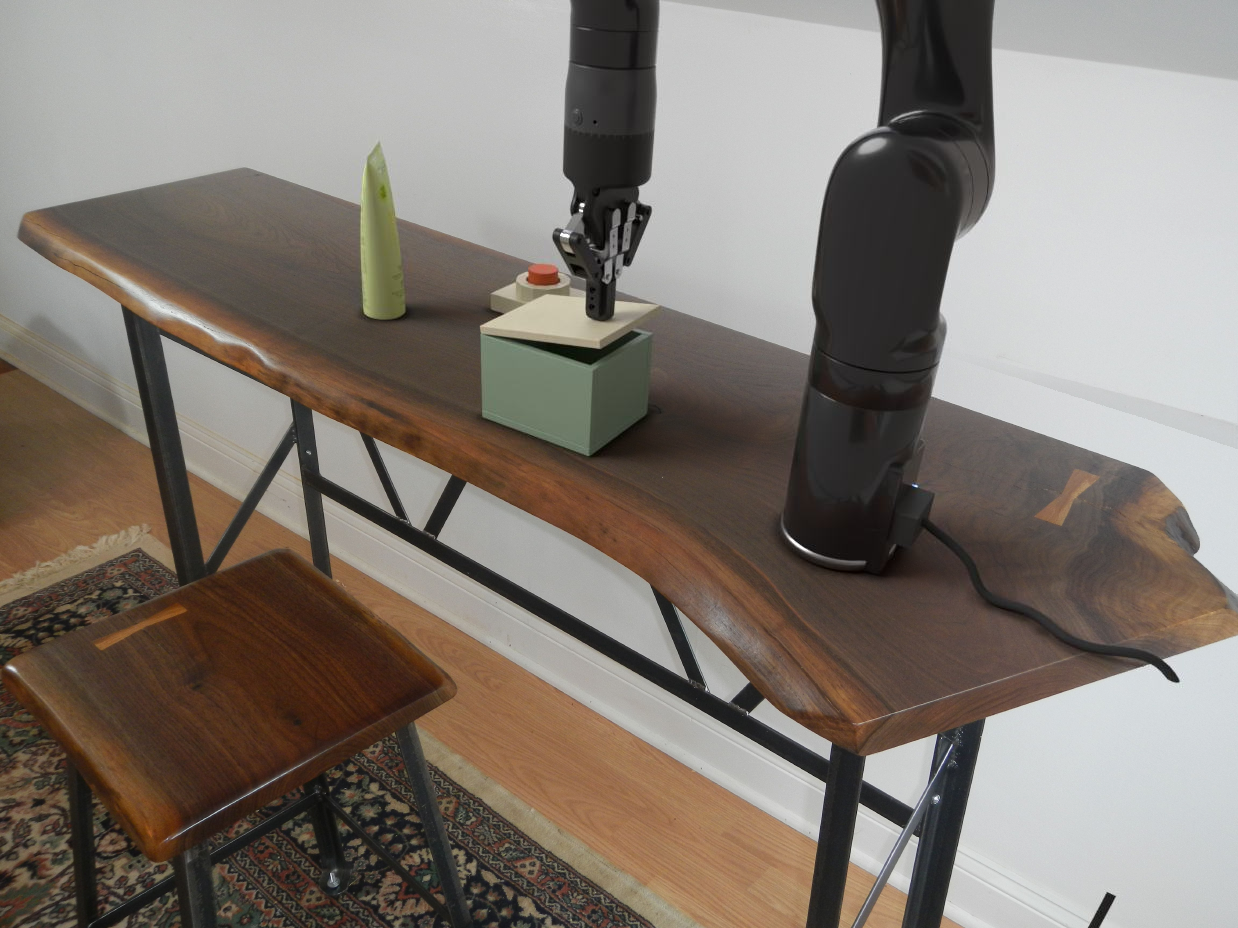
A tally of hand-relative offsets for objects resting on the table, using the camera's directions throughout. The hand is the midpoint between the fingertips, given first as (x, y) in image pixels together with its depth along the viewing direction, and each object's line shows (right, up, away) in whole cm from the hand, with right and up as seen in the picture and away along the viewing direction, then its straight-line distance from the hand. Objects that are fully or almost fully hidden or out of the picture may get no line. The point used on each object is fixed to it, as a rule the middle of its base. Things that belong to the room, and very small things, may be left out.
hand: (599, 317), depth 88 cm
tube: (-26, +4, +27) cm, 38 cm away
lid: (-3, 0, +2) cm, 3 cm away
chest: (-4, -9, +7) cm, 12 cm away
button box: (-8, +6, +31) cm, 32 cm away
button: (-7, +9, +29) cm, 31 cm away
